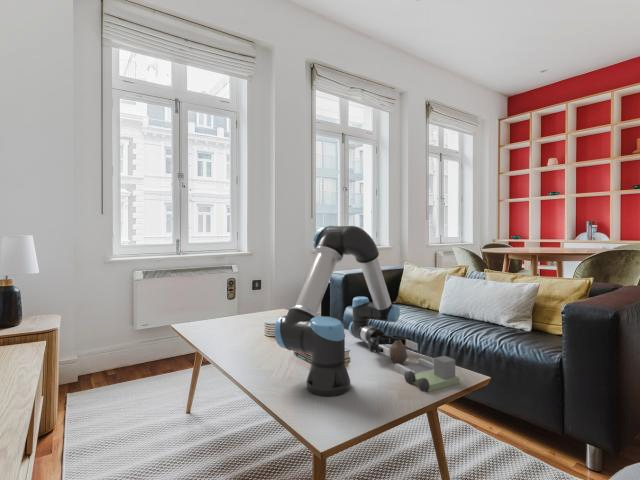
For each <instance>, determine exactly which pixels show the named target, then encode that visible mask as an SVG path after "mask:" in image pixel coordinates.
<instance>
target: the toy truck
mask: <svg viewBox="0 0 640 480" xmlns="http://www.w3.org/2000/svg"><path fill="white" fill-rule="evenodd" d="M433 363H434V369H432V370H428V371H424V372H420V373H416V374H414V373H413V372H412V371H407V372H405V374H404V375H403V376H404V380H405V382H406V383H407V384H414V385H416V386H417V387H418V388H419V390H420V391H421V392H426V391H427V392H432V391H435V390H439V389H442V388H447V387H449V386H453V385H457V383H458V384H461V383H460V382H461V381H460V380H461V378H460V377H459V376H457V375H456V359H454V358H453V357H452V358H451V357H449V356H446V355H442V356H436V357H434V358H433Z"/></svg>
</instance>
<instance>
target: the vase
mask: <svg viewBox="0 0 640 480" xmlns="http://www.w3.org/2000/svg"><path fill="white" fill-rule="evenodd" d="M389 349H390V356H389V358H390V360H391V362H392V363H394V365H395V364H397V363H398V364H400V365H403V364H404V363H405V362H406V360H407V358H408V350H407V347H406V345H403V344H402V342H401V340H395V342H394V344H392V345H391V346H390V348H389Z"/></svg>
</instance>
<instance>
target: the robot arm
mask: <svg viewBox="0 0 640 480" xmlns="http://www.w3.org/2000/svg"><path fill="white" fill-rule="evenodd" d="M313 249H314V253H315V255H316V256H315V259H314V261H313V263H312V265H311V268H310V270H309V272H308V274H307V277H306V280H305V281H304V283H303V287H302V289H301V292H300V293H299V296H298V299H297V300H296V303H295V305H294V306H292V307H290V308H289V309H288V311H287V313H286V315H285V314H284V315H282V316H279V318H278V319H277V320H276V322H275V325H274V331H273V332H274V333H273V334H274V339H275V341H276V344H277V345H278V346H279V347H280V348H283V349H286V350H287V351H293V352H297V353H298V352H299V353H303V354H308V355H310V368H309V370H308V375H307V378H306V390H307V391H308V392H309V393H311V394H313V395H316V396H321V397H334V396H335V397H336V396H340V395H341V396H342V395H343V394H345V393H347V392H349V390H351V378H350V376H349V373H348V369H347V367H346V362H345V361H346V353H345V352H346V349H345V348H346V346H345V344H346V342H345V341H346V339H345V338H346V334H345V326H344V323H343V322H342V321H341V320H340V319H338V318H335V317H331V316H323V315H321V316H320V315H319V316H317V313H318V311H319V308H320V306H321V303H322V301H323V298H324V295H325V293H326V291H327V289H328V285H329V283H330V280H331V278H332V275H333V273H334V270H335V269H336V266H337V264H339V263H341V262H342V260H343V257H344V255H348V256H349V255H351V256H354V258H355V261H356V262H357V263H359V265H360V268H361V271H362V274H363V277H364V279H365V283H366V286H367V289H368V292H369V293H370V297H371V299H372V302H371V301H370V300H369V298H368V297H367V296H355V297H353V299H352V305H351V309H352V321H351V322H350V323H349V326H348V332H349V334H350V335H351V336H352V337H354V338H355V339H359V340H361V341H363V342H365V343H366V344H365V345H366V346H368V349H369V351H370V352H371V353H372V352H374V353H375V354H378V353H381V354H383V355H385V356H386V357H390V348H388V347H386V346H385V345H391V346H392V345H393V344H394V342H395V340H401V342H402V344H403V345H404V346H405V347H406V348H410V349H411V350H413V351H419V350H418V346H419V345H418V344H419V343H417V342H414V341H412V338H411V337H410V336H409V337H408V336H402V335H401V336H400V335H396V334H393V333H390V335H387V334H385V333H384V332H383V330H381V329H379V328H376V327H374V326H371V325H370V320H373V321H379V322H387V323H396V322H398V321H399V319H400V316H401V311H400V307H399V306H398V305H397V304H392V301H391V298H390V294H389V291H388V287H387V284H386V281H385V277H384V274H383V271H382V268H381V264H380V262H379V261H380V260H379V256H380V253H379V250H378V246H377V244H376V243H375V241H374V239H373V238H372V237H371V236H370V234H369V233H368V232H366V231H365V230H364V229H363V228H361V227H359V226H357V225H356V226H355V225H339V226H338V225H336V226H335V225H327V226H322V227H320V228H319V229H318V230H317V231H316V232H315V234H314V237H313Z"/></svg>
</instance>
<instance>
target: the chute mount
mask: <svg viewBox="0 0 640 480" xmlns="http://www.w3.org/2000/svg"><path fill="white" fill-rule="evenodd" d="M432 369H434V362H431V361H429V360H427V359H425V358H421V357H420V358H418V362H416V363H415V362H414V363H410V364H406V365H403V364H398V363H397V364H395V363H394V371H395V372H397V373H398V374H401V375H402V376H404V374H405V372H407V371H412V372H413V373H414V374H416V373H420V372H424V371H428V370H432Z"/></svg>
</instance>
